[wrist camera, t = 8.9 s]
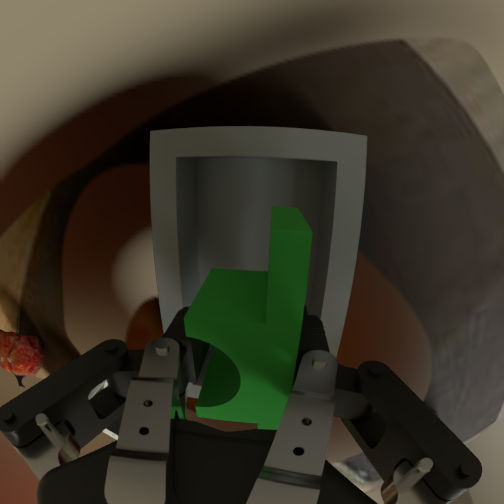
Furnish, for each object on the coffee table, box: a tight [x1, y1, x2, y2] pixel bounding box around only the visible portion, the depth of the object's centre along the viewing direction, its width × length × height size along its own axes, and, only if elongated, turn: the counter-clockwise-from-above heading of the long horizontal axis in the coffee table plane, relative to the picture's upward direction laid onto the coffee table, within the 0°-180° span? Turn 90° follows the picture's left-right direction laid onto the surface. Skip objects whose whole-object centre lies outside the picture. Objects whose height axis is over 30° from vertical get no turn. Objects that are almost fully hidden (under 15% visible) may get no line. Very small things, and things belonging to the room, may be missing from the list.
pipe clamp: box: [184, 206, 313, 430], centre depth 11 cm, size 11×4×5 cm, turn 178°
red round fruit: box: [0, 309, 44, 387], centre depth 22 cm, size 7×7×10 cm
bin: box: [150, 126, 367, 398], centre depth 17 cm, size 18×11×5 cm, turn 179°
